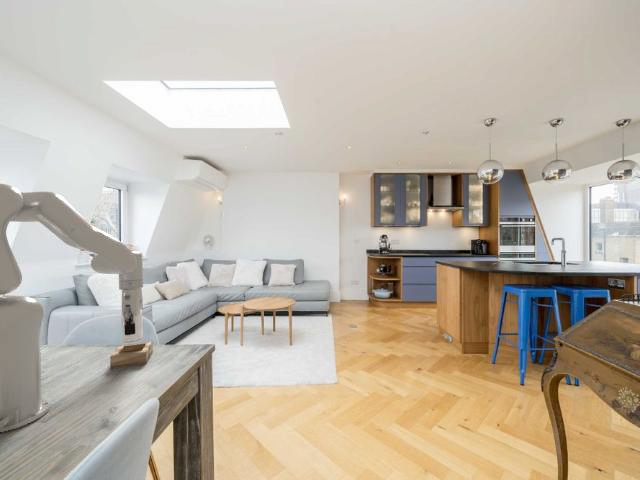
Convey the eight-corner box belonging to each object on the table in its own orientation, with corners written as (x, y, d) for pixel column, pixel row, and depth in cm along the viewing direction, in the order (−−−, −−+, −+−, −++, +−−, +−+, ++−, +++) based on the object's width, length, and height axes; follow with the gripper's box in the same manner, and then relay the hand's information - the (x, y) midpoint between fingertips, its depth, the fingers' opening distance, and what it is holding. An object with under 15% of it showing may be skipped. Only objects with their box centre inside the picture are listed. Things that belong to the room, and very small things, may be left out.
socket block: (146, 363, 104) (146, 351, 104) (110, 369, 100) (110, 356, 100) (152, 352, 114) (152, 341, 114) (120, 356, 110) (120, 345, 110)
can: (146, 336, 110) (145, 305, 109) (133, 343, 103) (133, 310, 103) (131, 336, 110) (130, 305, 110) (117, 342, 104) (116, 310, 104)
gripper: (136, 287, 100) (138, 338, 100) (147, 280, 116) (149, 323, 116) (111, 289, 97) (113, 341, 97) (126, 281, 113) (127, 325, 114)
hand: (132, 331), depth 107 cm, fingers closed on can, 6 cm apart
